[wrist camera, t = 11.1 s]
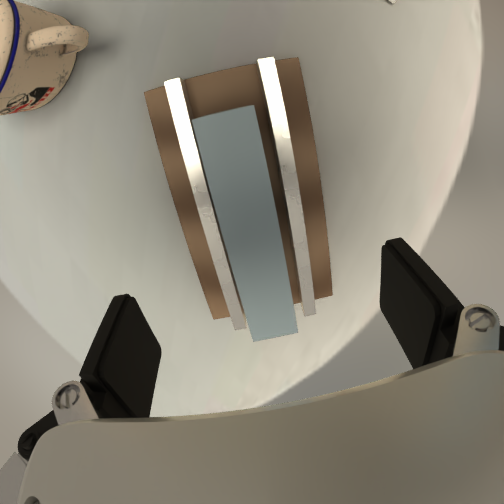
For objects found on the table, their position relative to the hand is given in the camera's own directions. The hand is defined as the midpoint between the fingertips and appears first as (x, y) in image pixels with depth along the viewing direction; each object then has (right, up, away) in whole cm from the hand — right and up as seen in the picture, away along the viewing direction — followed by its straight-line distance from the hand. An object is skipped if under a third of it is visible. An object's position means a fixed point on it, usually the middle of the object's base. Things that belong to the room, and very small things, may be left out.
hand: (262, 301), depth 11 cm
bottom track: (-1, +6, +13) cm, 14 cm away
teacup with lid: (-17, +17, +6) cm, 25 cm away
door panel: (-1, +5, +12) cm, 13 cm away
